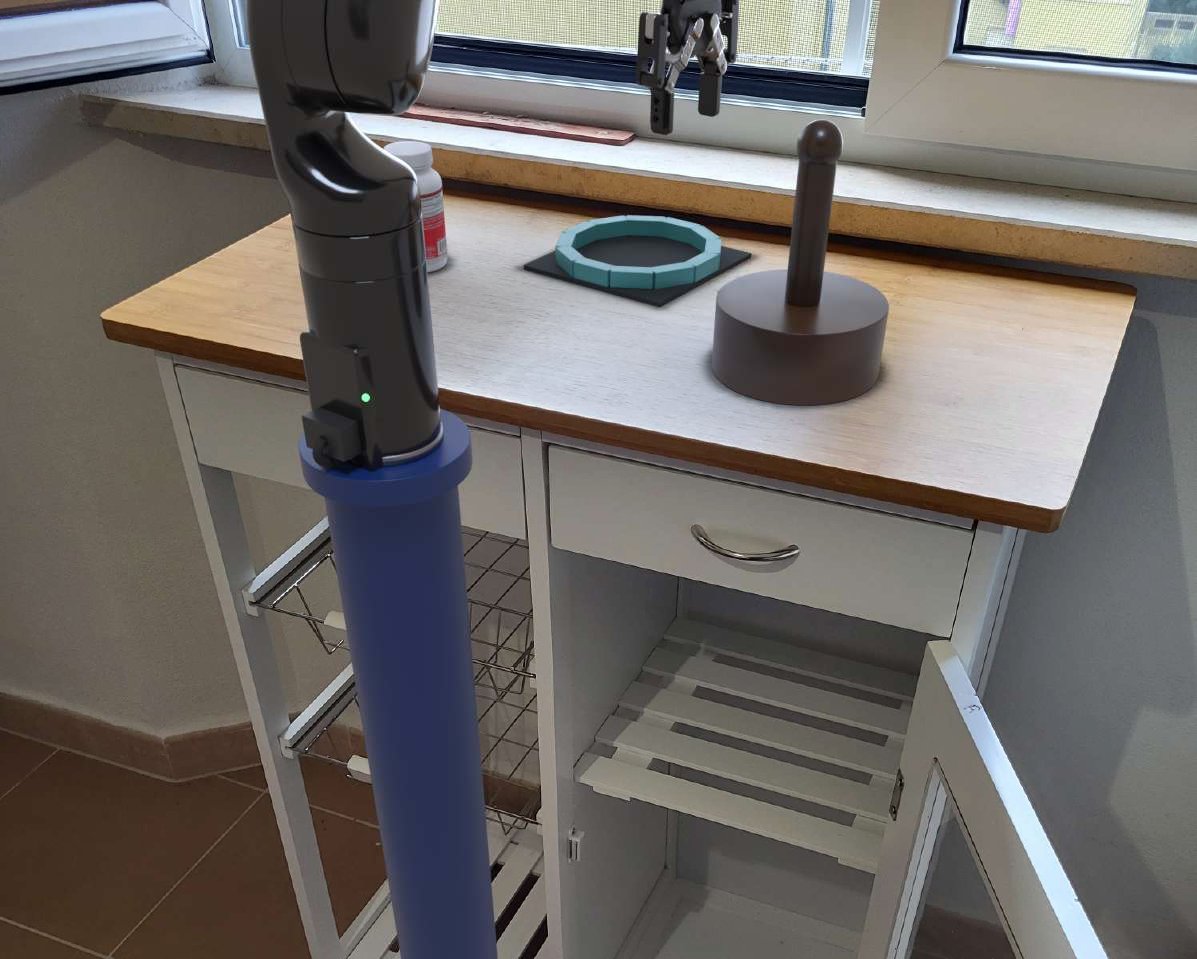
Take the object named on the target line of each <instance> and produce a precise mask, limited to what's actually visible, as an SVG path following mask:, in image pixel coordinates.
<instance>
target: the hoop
mask: <svg viewBox="0 0 1197 959" xmlns="http://www.w3.org/2000/svg"><path fill="white" fill-rule="evenodd" d="M627 235H631V236H656V237H664V238H668V239H672V240H676V241H680V242H684V243H688V244H691V245H692V246H694V247H695V248H697V249H698V250H699V251H701V252H702V253H701V254H699V255H697V256H696V257H694V258H692V259H690V260H688V261H686V262H682V263H676V264H669V265H663V266H657V267H629V266H613V265H610V264H606V263H602V262H599V261H595V260H591V259H587V258H585V257H583V256H582V255H581V254H580V253H579V252H577V251H576V249H578V248H580V247H582V246H585V245H587V244H589V243H591V242H593V241H595V240H600V239H607V238H613V237H620V236H627ZM722 242H723V239H722V238H721V236H718V234H716V233H714V231H711V230H710V229H709V228H707V227H705V226H704V225H701V224H698V223H695V222H691V221H687V220H682V219H678V218H674V217H670V216H667V217H666V216H661V215H660V216H658V215H657V216H656V215H636V214H635V215H631V214H627V215H616V216H610V217H609V216H608V217H603V218H596V219H589V220H585V221H583V222H580V223H578V224H575V225H574V226H572V227H570V228H567V229H565V230H563V231H562V232H560V234H559V237H558V240H557V241H556V245H555V250H556V263H557V264H558V265H559V266H560V267H561V268H562V269H563V270H564V271H566V272H567V273H568V274H569V275H570V276H571V277H574V278H576V279H579V280H583V281H587V282H590V283H594V284H597V285H601V286H605V287H609V286H610V287H611V288H632V289H653V288H654V289H661V288H667V287H673V286H679V285H685V284H691V283H693V282H697V281H699V280H701V279H703V278H705V277H707V276H708V275H710V274H712V273H714V272H716V271H718V269H719V266H720V257H721V246H723V245H722Z"/></svg>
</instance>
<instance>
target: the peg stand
mask: <svg viewBox="0 0 1197 959" xmlns="http://www.w3.org/2000/svg"><path fill="white" fill-rule="evenodd" d="M843 148H844V137H843V134H842V132H841V130H840V128H839V126H838V125H837V124H835V123H834V122H833V121H831V120H828V119H825V118H824V119H820V118H819V119H816V120H813V121H811V122H809V123H807V124H806V125H805V126H804V127H803V128H802V130H801V131H800V133H799V135H798V137H797V141H796V155H797V157H798V163H797V164H798V165H797V174H796V186H795V192H794V194H795V195H794V204H793V212H792V222H791V223H792V224H791V234H790V244H789V251H788V252H789V253H788V262H787V269H784V268H783V269H770V270H763V271H757V272H752V273H748V274H744V275H741V276H738V277H735V278H734V279H731V280H729V281H728V282H726V283H724V284H723V285H722V286H721V287H720V288H719V290H718V291H717V293H716V297H715V310H714V325H713V340H712V354H711V355H712V356H711V369H712V372H713V375H714V376H715V378H716V379H717V380H718V381H719V382H720V383H721V384H723V385H724V386H725V387H727V388H728V389H730V390H732V391H734V392H736V393H738V394H741V395H743V396H746V397H748V398H752V399H756V400H759V401H764V402H768V403H774V404H780V405H781V404H782V405H791V406H792V405H793V406H815V405H816V406H818V405H829V404H834V403H840V402H844V401H848V400H851V399H854V398H857V397H859V396H861V395H863V394H865V393H866V392H868V391H869V390H870V389H872V388H873V387H874V386H875V384H876V383H877V381H878V378H879V374H880V368H881V363H882V362H881V361H882V355H883V349H884V343H885V337H886V330H887V324H888V318H889V312H890V303H889V300H888V298H887V296H886V295H885V294H884V293H883V292H882V291H881V290H879V289H877V288H876V287H875V286H873V285H871V284H869V283H867V282H864V281H862V280H860V279H857V278H854V277H852V276H848V275H844V274H839V273H834V272H830V271H825V265H826V256H827V248H828V239H829V231H830V223H831V215H832V207H833V199H834V190H835V183H836V176H837V167H838V161H839V159H840V157H841V155H842V152H843Z"/></svg>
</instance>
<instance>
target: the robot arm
mask: <svg viewBox="0 0 1197 959" xmlns="http://www.w3.org/2000/svg"><path fill="white" fill-rule="evenodd" d="M439 1H440V0H245V13H246V14H245V15H246V16H245V18H246V20H245V21H246V30H247V39H248V40H247V41H248V46H249V53H250V59H251V64H252V69H253V74H254V78H255V83H256V87H257V92H258V96H259V101H260V105H261V110H262V115H263V120H264V125H265V130H266V134H267V139H268V143H269V144H268V145H269V148H270V153H271V158H272V163H273V168H274V171H275V175H276V177H277V180H278V182H279V185H280V186H281V189H282V191H283V193H284V195H285V198H286V199H287V202H288V208H289V212H290V218H291V224H292V231H293V238H294V244H295V249H296V250H295V251H296V256H297V262H298V263H297V264H298V269H299V276H300V281H301V289H302V295H303V299H304V300H303V301H304V307H305V314H306V320H307V326H308V329H306V330H303V331H301V333H300V334H299V344H300V349H301V355H302V361H303V367H304V375H305V380H306V385H307V391H308V398H309V404H310V411H308V412H306V413H304V414H302V415H301V422H302V428H303V433H304V434H305V440H306V445H307V447H308V448H311V449H313V452H312V454H313V459H314V461H315V462H316V463H317V464H319V465H320V466H322V467H325V468H328V469H331V468H333V467H334V464H335V463H334V461H333V460H332V459H330V458H328V457H325V456H323V454H326V455H328V456H331V457H333V458H336V459H338V460H341V461H343V462H347V463H350V464H353V465H355V466H357V467H360V468H362V469H365V470H367V471H370V472H374V471H376V470H378V469H380V468H383V467H387V466H395V465H401V464H406V463H410V462H413V461H416V460H419V459H422V458H424V457H426V456H428V455H430V454H431V453H433V452H434V451H435V450H436V449H437V448H438V447H439V446H440V445H441V443H442V441H443V438H444V437H443V425H442V422H441V416H440V409H441V407H440V405H441V404H440V396H439V387H438V386H439V385H438V375H437V373H438V372H437V364H436V352H435V351H436V350H435V341H434V340H435V339H434V331H433V330H434V329H433V320H432V309H431V298H430V288H429V287H430V286H429V277H428V275H429V274H428V272H427V264H426V251H425V240H424V229H423V218H422V207H421V195H420V187H419V182H418V178H417V176H416V174H415V172H414V171H413V169H412V168H411V167H410V166H409V165H408V164H407V163H405V162H404V161H402V160H401V159H399V158H397V157H395V156H394V155H392V154H390V153H388V152H387V151H385V150H384V148H382V147H381V146H379V145H378V144H377V143H375V142H374V141H372V139H371V138H369V137H368V136H367V135H366V134H365V133H364V132H363V131H362V130H361V129H360V128H359V126H358V125H357V124H356V123H355V121H354V120H353V118H352V116H351V114H358V115H359V114H360V115H366V116H382V117H387V116H388V117H389V116H390V117H391V116H400V115H402V114H404V113H406V112H408V111H409V110H410V109H411V108H412V106H413V105H414V104H415V103H416V101H418V98H419V96H420V94H421V92H422V89H423V87H424V85H425V81H426V77H427V74H428V71H429V67H430V63H431V58H432V52H433V47H434V41H435V34H436V33H435V32H436V26H437V17H438V11H439V10H438V9H439ZM739 11H740V0H661V4H660V8H659V12H657V13H656V12H647V11H646V12H645V11H642V12H641V13H640V15H639V19H638V33H637V34H638V35H637V38H638V39H637V52H636V53H637V55H636V73H635V82H636V85H637V86H642V87H645V88H647V89H648V90H649V92H650V107H649V108H650V109H649V110H650V113H649V115H650V116H649V123H650V130H651V132H652V133H653V134H657V135H663V136H667V135H668V136H669V135H671V134H672V133H673V131H674V112H675V91H673V90H674V88H675V86H676V83H677V80H678V78H679V75H680V73H681V71H684V70H685V69H686V68H687V66H688V63H689V61H690V59H693V58H694V57H696V60H697V62H698V65H699V67H700V70H701V71H702V72H700V73H699V80H698V82H699V83H698V102H697V112H698V114H699V115H701V116H706V117H709V118H711V117H712V118H713V117H716V116H718V115H719V114H720V110H721V99H722V84H723V75H725V73H726V71H727V68H728V65H729V64H733V65H734V64H735V63H736V61H737V58H738V39H739V37H738V35H739V14H740V13H739ZM723 36H724V37H726V44H725V41H724V38H723ZM667 51H668V52H669V53H667ZM649 59H652V60H653V62H652V65H651V67H650V70H649ZM666 68H668V70H667V73H666V72H665V71H666ZM648 70H649V71H648ZM665 73H666V75H665Z"/></svg>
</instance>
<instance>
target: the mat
mask: <svg viewBox="0 0 1197 959" xmlns="http://www.w3.org/2000/svg"><path fill="white" fill-rule="evenodd" d="M576 251H577V252H579V253H580V254H581V255H582V256H583V257H585V258H587V259H591V260H595V261H599V262H602V263H606V264H610V265H613V266H629V267H657V266H663V265H669V264H676V263H682V262H686V261H688V260H690V259H692V258H694V257H696V256H697V255H699V254H701V253H702V252H701V251H699V250H698V249H697V248H695V247H694V246H692V245H691V244H688V243H684V242H680V241H676V240H672V239H668V238H664V237H656V236H631V235H627V236H620V237H613V238H607V239H600V240H595V241H593V242H591V243H589V244H587V245H585V246H582V247H580V248H578V249H576ZM752 255H753V253H752V252H749V251H744V250H740V249H737V248H732V247H728V246H724V245H721V257H720V266H719V269H718V271H716V272H714V273H712V274H710V275H708V276H707V277H705V278H703V279H701V280H699V281H697V282H693V283H691V284H685V285H679V286H673V287H667V288H661V289H654V288H653V289H632V288H611V287H610V286H609V287H605V286H601V285H597V284H594V283H590V282H587V281H583V280H579V279H576V278H574V277H571V276H570V275H569V274H568V273H567V272H566V271H564V270H563V269H562V268H561V267H560V266H559V265H558V264H557V263H556V249H555V250H553V251H551V252H549V253H546V254H544V255H543V256H540V257H538V258H535V259H534V260H531V261H529V262H527V263H525V264H523V266H522V267H523V270H527V271H530V272H533V273H537V274H541V275H544V276H548V277H552V278H555V279H559V280H562V281H566V282H569V283H573V284H576V285H580V286H584V287H587V288H591V289H594V290H598V291H602V292H605V293H609V294H612V295H614V296H615V295H616V296H619V297H622V298H625V299H626V298H627V299H630V300H634V301H637V302H639V303H640V302H641V303H644V304H648V305H652V306H654V307H658V308H660V307H662V306H664V305H666V304H668V303H670V302H672V301H673V300H676V299H677V298H679V297H681V296H682V295H685V294H687V293H688V292H690V291H691V290H694V289H696V288H697V287H699V286H701V285H703V284H705V283H707V282H708V281H710V280H712V279H714V278H716V277H717V276H719V275H722V274H723V273H725V272H726V271H727V272H728V271H729V270H730V269H732V268H735V266H737V265H739V264H741V263H744V262H745V261H747V260H749V259H750V258H752Z"/></svg>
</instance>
